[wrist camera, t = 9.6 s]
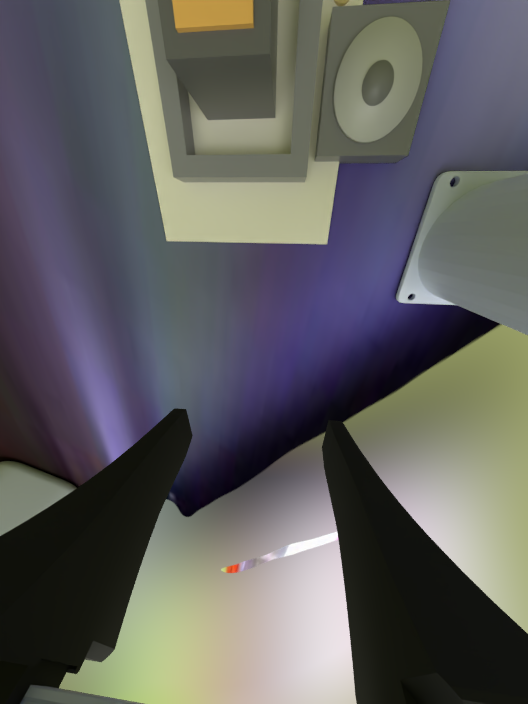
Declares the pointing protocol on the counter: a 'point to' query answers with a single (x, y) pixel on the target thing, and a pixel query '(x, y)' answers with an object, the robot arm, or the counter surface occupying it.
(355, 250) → the counter surface
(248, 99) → the plug
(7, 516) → the plastic bottle
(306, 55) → the board
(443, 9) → the fan housing
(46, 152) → the counter surface
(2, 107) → the counter surface
